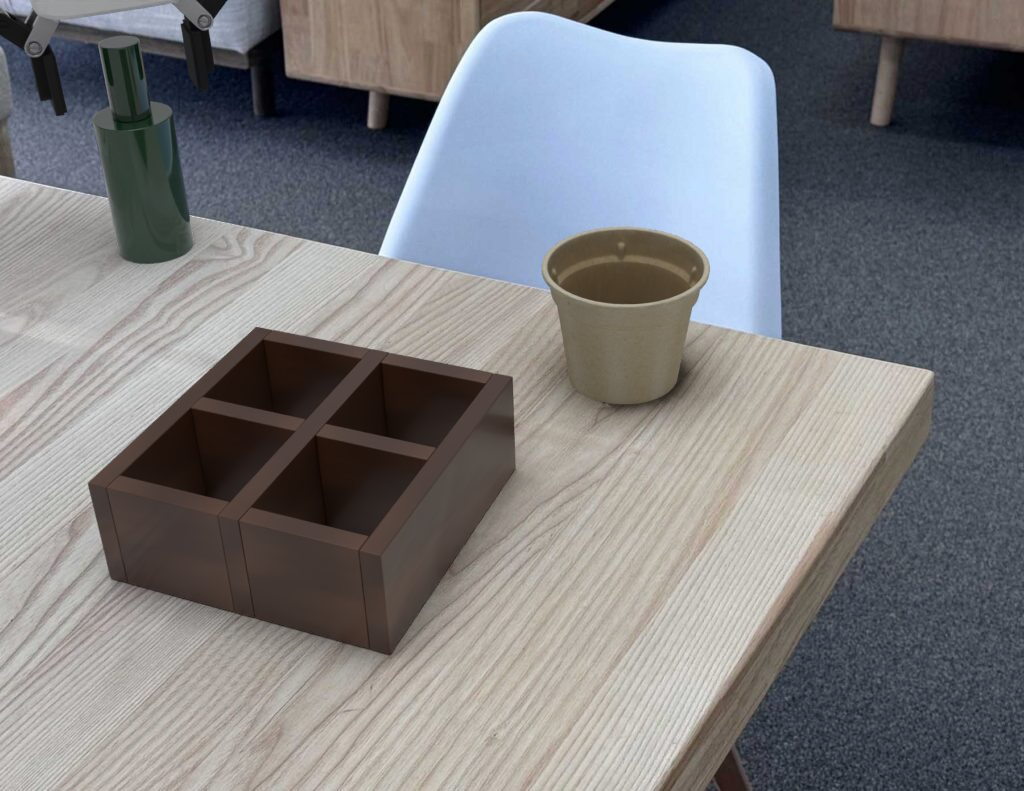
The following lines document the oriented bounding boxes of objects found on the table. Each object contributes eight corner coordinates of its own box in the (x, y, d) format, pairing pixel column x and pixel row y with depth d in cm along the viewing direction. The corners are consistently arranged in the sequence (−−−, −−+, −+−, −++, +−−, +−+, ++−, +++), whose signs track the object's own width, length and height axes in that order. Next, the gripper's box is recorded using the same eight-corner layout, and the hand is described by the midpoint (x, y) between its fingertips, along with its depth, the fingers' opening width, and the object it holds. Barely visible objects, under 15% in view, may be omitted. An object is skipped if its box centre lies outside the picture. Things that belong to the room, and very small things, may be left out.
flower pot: (697, 444, 79) (705, 310, 74) (532, 431, 80) (529, 299, 75) (706, 356, 86) (714, 230, 82) (555, 346, 88) (554, 222, 83)
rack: (109, 578, 70) (86, 482, 67) (268, 414, 82) (255, 325, 79) (390, 655, 65) (380, 555, 62) (516, 467, 77) (513, 376, 74)
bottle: (107, 273, 98) (60, 50, 89) (149, 241, 102) (109, 25, 93) (170, 285, 96) (128, 59, 87) (211, 251, 100) (175, 33, 91)
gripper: (208, -208, 88) (245, 57, 98) (-82, -177, 83) (-12, 100, 92) (236, -188, 82) (273, 92, 92) (-73, -153, 77) (0, 140, 87)
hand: (130, 95), depth 92 cm, fingers open, 8 cm apart
